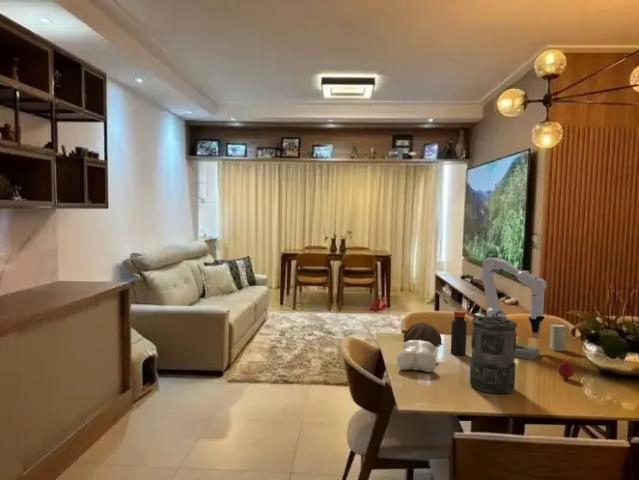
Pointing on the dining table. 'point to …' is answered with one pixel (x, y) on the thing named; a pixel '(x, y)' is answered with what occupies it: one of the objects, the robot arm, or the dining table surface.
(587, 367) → the dining table surface
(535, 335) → the rust peg
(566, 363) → the onion
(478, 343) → the canister
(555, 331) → the skincare box
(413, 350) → the torso sculpture
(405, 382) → the dining table surface
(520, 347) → the grey flat block
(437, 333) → the decorative dome
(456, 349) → the bottle
